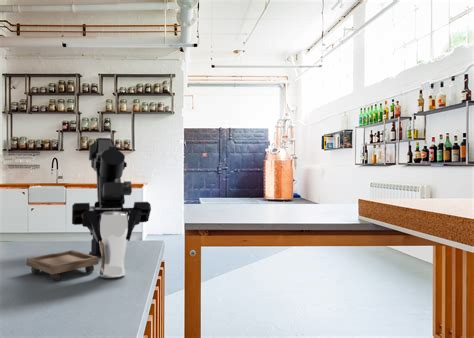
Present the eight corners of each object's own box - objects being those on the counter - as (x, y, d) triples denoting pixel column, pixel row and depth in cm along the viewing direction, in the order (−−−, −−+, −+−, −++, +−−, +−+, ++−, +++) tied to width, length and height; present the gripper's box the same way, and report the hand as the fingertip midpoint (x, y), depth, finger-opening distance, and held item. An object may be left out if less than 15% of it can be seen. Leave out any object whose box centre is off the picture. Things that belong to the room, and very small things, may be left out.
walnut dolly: (71, 264, 107) (72, 250, 107) (98, 272, 100) (98, 257, 100) (26, 273, 97) (26, 258, 97) (52, 283, 90) (52, 266, 90)
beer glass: (133, 272, 99) (134, 212, 98) (115, 280, 92) (117, 215, 92) (109, 269, 101) (111, 210, 101) (91, 276, 94) (92, 213, 94)
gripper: (72, 169, 96) (72, 222, 86) (150, 170, 103) (158, 219, 93) (72, 199, 103) (71, 250, 93) (144, 198, 111) (151, 245, 101)
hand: (113, 240), depth 95 cm, fingers closed on beer glass, 7 cm apart
